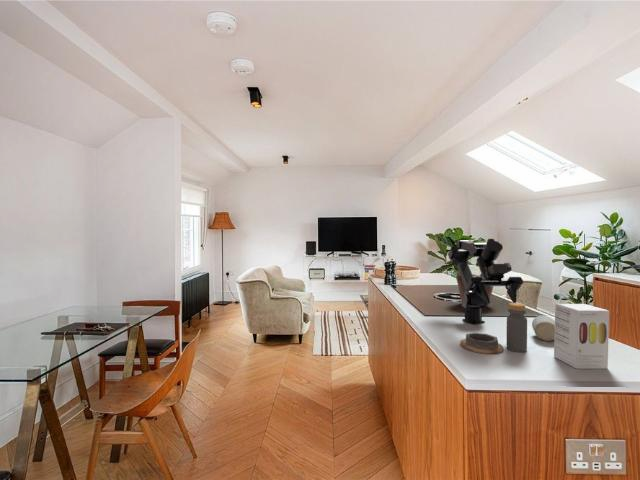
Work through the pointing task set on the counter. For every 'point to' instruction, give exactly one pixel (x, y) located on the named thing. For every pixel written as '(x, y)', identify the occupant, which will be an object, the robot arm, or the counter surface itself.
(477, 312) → the robot arm
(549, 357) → the counter surface
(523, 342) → the bottle
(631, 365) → the counter surface
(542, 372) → the counter surface
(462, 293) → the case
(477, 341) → the ring coaster
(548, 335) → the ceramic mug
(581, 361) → the supplement box
